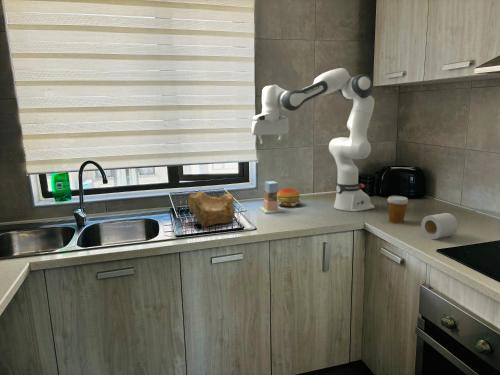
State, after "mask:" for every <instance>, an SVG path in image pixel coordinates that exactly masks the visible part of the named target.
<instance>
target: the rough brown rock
mask: <svg viewBox="0 0 500 375" xmlns="http://www.w3.org/2000/svg"><path fill="white" fill-rule="evenodd" d="M187 202H188V203H187V205H188V208H189V212H190V213H192V214H193V215H194V218H195V219H196V221H198V222H199V223H200V225H201V227H203V228H205V227H209V226H213V225H215V224H230V222H232V220H233V219H234V217H235V205H234V195H233V194H231V193H224V194H223V195H221V196H219V197H218V196H217V197H216V196H209V195H208V194H206V192H203V191H198V192H196V193H191V194H189V195H188V198H187Z"/></svg>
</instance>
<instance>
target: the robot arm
mask: <svg viewBox="0 0 500 375" xmlns="http://www.w3.org/2000/svg"><path fill="white" fill-rule="evenodd" d="M372 82H373V81H372V79H371V77H370V76H368V75H367V74H361V73H360V74H357V75H355V76H353V77H352V76H351V75H350V74H349V72H348V70H347V68H344V67H339V68H335V69H330V70H329V71H325V72H323V73H321V74H320V75H318V76H316V78H314V80H313V83H312V84H311V85H308V86H307V87H303V88H302V89H291V90H286V89H284V88H281V87H280V86H278V84H276V83H275V84H270V85H266V86H264V87H263V89H262V91H261V92H262V93H261V105H262V109H261V113H260V114H257V115H254V116H253V117H252V120H253V121H252V123H251V131H250V132H251V135H252V136H257V137H258V140H259V144H261V145H264V143H265V140H263V139H262V137H263V136H266V135H268V136H269V135H270V136H271V135H278V139H276V143H277V144H281V141H282V138H283V137H284V136H283V135H288V134H289V133H290V129H289V122H290V121H289V118H288V117H287V116H280V110H282V111H283V110H284V111H290V112H291V111H292V112H295V111H297V110H299V109H300V108H301V107H302V106H303V105H304V104H305V103H306V102H308V101H310V100H312V99H315V98H316V97H319V96H324V95H329V94H332V93H334V92H336V91H338V92H339V94H340V96H341V98H343V99H344V100H345V101H353V106H352V108H351V111H350V114H349V116H348V120H347V123H346V127H347V130H349V131H350V133H349V137H346V136H345V137H344V136H343V137H342V136H341V137H335V138H332V139H331V140H330V142H329V143H328V150H329V153H330V154H331V155H332V157H333V159H334V161H335V164H336V168H337V169H336V170H337V179H336V180H337V182H336V189H335V190H336V191H335V192H336V193H335V194H336V196H335V200H334V204H333V208H334V209H336V210H338V211H339V210H341V211H348V212H355V213H356V212H361V211H366V210H371V209H374V208H375V205H374V204H372V203H371V198H370V196H369V194H367V193H366V192H364V191H363V188H365V184H363V183H359V168H358V167H357V165H355V163H354V161H353V159H354V160H361V159H362V160H364V159H367V158H368V157H369V156H370V154H371V151H372V147H371V146H372V145H371V144H370V142H369V140H368V137H367V134H368V132H367V131H368V128H369V125H370V121H371V119H372V117H373V116H372V115H373V113H374V108H375V98H374V97H372V96H371V95H372ZM361 188H362V189H361Z"/></svg>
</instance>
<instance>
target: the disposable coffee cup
mask: <svg viewBox="0 0 500 375" xmlns="http://www.w3.org/2000/svg"><path fill="white" fill-rule="evenodd" d="M386 201H387V204H388V205H387V206H388V216H389V217H388V220H389V223H392V224H403V223H404V220H405V214H406V210H407V205H408V203H409V199H408V197H406V196H401V195H391V196H388V198H387V199H386Z"/></svg>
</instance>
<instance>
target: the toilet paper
mask: <svg viewBox="0 0 500 375" xmlns="http://www.w3.org/2000/svg"><path fill="white" fill-rule="evenodd" d="M458 223H459V222H458V220H457V218H456V216H454V215H453V214H452V213H449V212H443V213H436V214H431V215H426V216H424V218H422V220H421V223H420V227H421V228H420V229H421V231H422V233H423V235H424V236H425V237H426V238H428V239H430V240H436V239H441V238H447V237H451V236H454V235H456V233H457V232H458V230H459V224H458Z"/></svg>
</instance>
